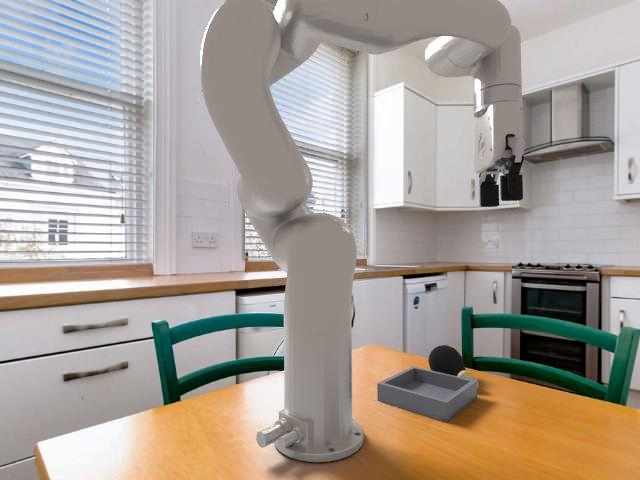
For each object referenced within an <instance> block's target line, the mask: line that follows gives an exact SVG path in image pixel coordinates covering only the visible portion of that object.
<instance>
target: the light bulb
mask: <svg viewBox="0 0 640 480" xmlns="http://www.w3.org/2000/svg"><path fill="white" fill-rule="evenodd" d="M427 362H428V365H429V370H431V371H436V372H440V373H445V374H449V375H453V376H458V377H462V378H466V379H471V380H475V381H477V389H478V388H479V385H480V384H479V381H478V379H477V378H476V377H475V376H473V375H472V373H471V372H468V371H467V369H466V366H465V362H464V359H463V357H462V355H461V353H460V352H459V351H458V350H457V349H456V348H454V347H453V346H450V345H447V344H444V345H443V344H442V345H437V346H436V347H434V348H433V349H432V350H431V351H430V353H429V356H428V360H427Z"/></svg>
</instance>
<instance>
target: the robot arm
mask: <svg viewBox="0 0 640 480" xmlns="http://www.w3.org/2000/svg"><path fill="white" fill-rule="evenodd" d="M209 20H210V21H209V22H208V25H207V27H206V30H205V32H204V35H203V39H202V43H201V50H200V58H199V59H200V60H199V61H200V63H199V69H200V71H199V72H200V74H199V75H200V82H201V83H200V84H201V91H202V95H203V98H204V102H205V105H206V109H207V111H208V115H209V116H210V119H211V121H212V123H213V125H214V127H215V129H216V131H217V133H218V135H219V136H220V139H221V140H222V142H223V144H224V147H225V148H226V151H227V152H228V154H229V156H230V158H231V159H232V161H233V163H234V165H235V167H236V169H237V171H238V173H239V175H238V177H237V180H236V182H237V183H236V192H237V197H238V200H239V203H240V205H241V207H242V210H243V211H244V213H245V214H246V217H247V219H248V220H249V221H250V223H251V225H252V226H253V229H254V230H255V231H256V233H257V235H258V237H259V238H260V241H261V242H262V244H263V246H264V248H265V249H266V250H267V252H268V254H269V255H270V257H271V258H272V260H273V261H274V263H275V264H276V265H277V266H278V268H279V269H281V271H283V272H285V273H287V274H286V282H285V288H284V290H285V291H284V300H283V301H284V302H283V304H284V306H283V332H284V333H283V334H284V335H283V339H284V340H283V346H284V347H283V348H284V349H283V353H284V355H283V357H284V358H283V361H284V363H283V365H284V366H283V368H284V370H283V375H284V376H283V377H284V379H283V381H284V383H283V384H284V389H283V391H284V394H283V395H284V396H283V397H284V403H283V405H284V409H282V410H278V420H276V421H275V422H274V424H273V425H272V426H268V427H267V428H263V429H262V430H259V431H258V432H257V433H256V435H255V436H256V443H257V445H258V446H259V447H260V448H262V449H263V448H264V449H265V448H267V446H270V445H271V444H274V446H275V448H276V449H277V450H278V451H279V452H280V453H281V454H283V455H285V456H286V457H289V458H291V459H293V460H297V461H303V462H307V463H308V462H309V463H326V462H333V461H338V460H342V459H345V458H347V457H349V456H352V455H353V454H355V453H356V452H358V451H359V449H361V447H362V445H363V443H364V438H365V436H364V429H363V426H362V425H361V424H360V423H359V422H358V421H357V420H355V419H354V418H353V352H352V351H353V349H352V348H353V347H352V346H353V338H352V337H353V334H352V329H353V328H352V303H353V302H352V301H353V299H352V297H353V287H354V279H355V272H356V266H357V258H358V257H357V255H358V254H357V251H358V250H357V243H356V238H355V236H354V234H353V232H352V229H350V227H349V226H348V224H347V223H346V222H345V221H344V220H343V219H342V218H340V217H338V216H336V215H333V214H331V213H327V212H314V213H311V211H310V209H309V207H308V205H307V204H306V201H307V200H308V199H309V197H310V195H311V193H312V190H313V185H314V184H313V180H314V179H313V175H312V172H311V170H310V169H311V168H310V167H309V165H308V163H307V161H306V159H305V157H304V156H303V154H302V152H301V150H300V149H299V147H298V145H297V144H296V141H295V140H294V138H293V136H292V134H291V133H290V131H289V129H288V127H287V126H286V124H285V122H284V120H283V118H282V117H281V114H280V111H279V110H278V108H277V106H276V103H275V100H274V97H273V95H272V90H271V87H272V86H273V85H274V84H276V83H277V82H279V81H280V80H282V79H283V78H285V77H286V76H287V75H290V74H291V73H292V72H293V71H295V70H296V69H297V68H299V67H300V66H302V64H304V63H305V62H307V60H309V59H310V58H311V57H312V56H313V55H314V54H315V52H316V51H317V49H318V48H319V46H320V45H321V43H325V44H328V45H329V44H330V45H333V46H338V47H343V48H346V49H350V50H354V51H358V52H362V53H366V54H370V55H372V56H374V55H381V54H387V53H390V52H393V51H397V50H399V49H401V48H402V49H403V48H404V47H407V46H408V45H411V44H414V43H416V42H419V41H422V40H426V39H431V40H430V42H429V43H427V46H426V49H425V52H424V60H425V64H426V66H427V68H428V69H429V70H430V71H431V73H432V74H434V75H437V76H439V77H442V78H443V77H444V78H460V77H462V78H463V77H471V78H472V85H473V87H472V88H473V92H472V93H473V117H474V118H476V123H475V134H474V161H473V162H474V163H473V164H474V167H473V169H474V172H475V174H479V175H478V178H479V183H478V184H479V204H480V205H479V206H480V207H482V208H495V207H499V206H500V200H501V201H502V202H516V201H520V202H521V201H522V200H523V199H524V188H523V186H524V185H523V183H524V182H523V178H524V177H523V174H524V166H523V163H524V161H525V156H524V153H525V147H526V142H525V141H524V138H523V135H524V134H523V124H522V116H521V115H522V114H521V111H522V110H523V86H522V83H523V82H522V81H523V80H522V77H523V76H522V47H521V45H522V42H521V33H520V31H519V28H517V27H516V26H515V25H512V19H511V15H510V13H509V10H508V9H507V7H506V6H505V5H504V4H503V3H502V2H501V1H500V0H278V1H277V3H276V6H275V7H274V10H273V9H272V7H271V6H270V5H269V4H268V3H267V2H266V1H265V0H224V1H223V2H222V3H221V4H220V6H218V8H217V9H216V10H215V12H214V13H213V15H212V16H211V19H209ZM500 173H502V175H500ZM499 175H500V176H499ZM498 180H499V181H500V182H499V183H500V184H498V183H497V182H498Z"/></svg>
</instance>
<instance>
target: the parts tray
mask: <svg viewBox="0 0 640 480" xmlns="http://www.w3.org/2000/svg"><path fill="white" fill-rule="evenodd" d="M477 381H478V380H477ZM477 381H475V380H471V379H466V378H462V377H458V376H453V375H449V374H445V373H440V372H436V371H431V369H427V368H422V367H418V366H415V365H413V366H411V367H409V368H407V369H404V370H401V371H400V372H398V373H396V374H394V375H392V376H390V377H387V378H385V379H384V380H381V381H378V382H377V384H376V385H377V386H376V387H377V389H376V390H377V395H376V397H377V401H379V402H381V403H383V404H387V405H391V406H394V407H398V408H400V409H403V410H406V411H409V412H414V413H416V414H418V415H419V414H420V415H422V416H425V417H428V418H431V419H435V420H438V421H441V422H445V423H448V422H449V421H450V420H452V419H453V418H454V417H456V416H457V415H458V414H459V413H460V412H462V411H463V410H464V409H465V408H467V407H468V406H469V405H470V404H472V403H473V402H475V400H477V398H478V388H477Z"/></svg>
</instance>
